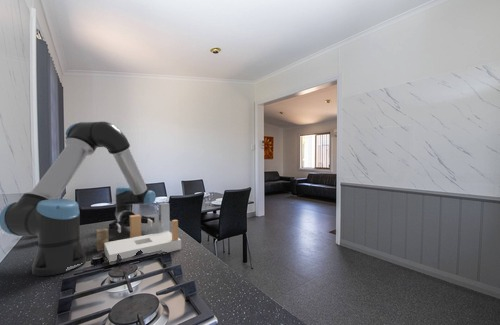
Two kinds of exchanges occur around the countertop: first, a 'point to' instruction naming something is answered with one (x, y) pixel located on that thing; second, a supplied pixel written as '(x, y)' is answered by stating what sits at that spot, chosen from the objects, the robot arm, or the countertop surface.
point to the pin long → (164, 217)
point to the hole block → (144, 244)
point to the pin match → (135, 226)
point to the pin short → (101, 238)
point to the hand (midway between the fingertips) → (136, 226)
